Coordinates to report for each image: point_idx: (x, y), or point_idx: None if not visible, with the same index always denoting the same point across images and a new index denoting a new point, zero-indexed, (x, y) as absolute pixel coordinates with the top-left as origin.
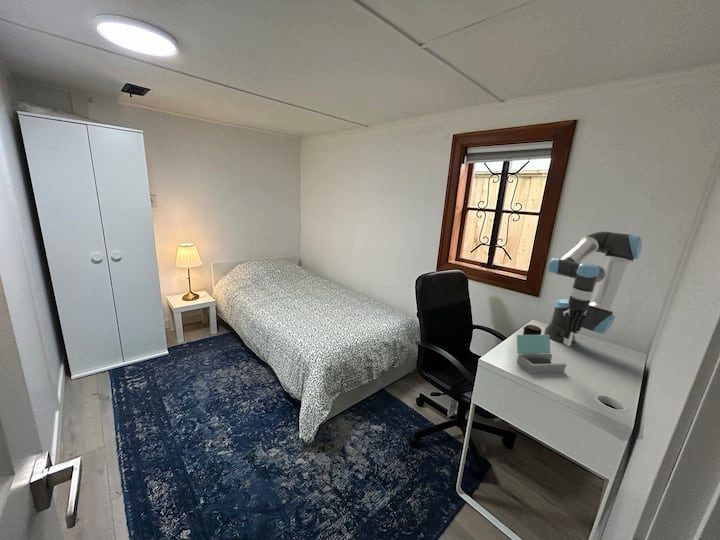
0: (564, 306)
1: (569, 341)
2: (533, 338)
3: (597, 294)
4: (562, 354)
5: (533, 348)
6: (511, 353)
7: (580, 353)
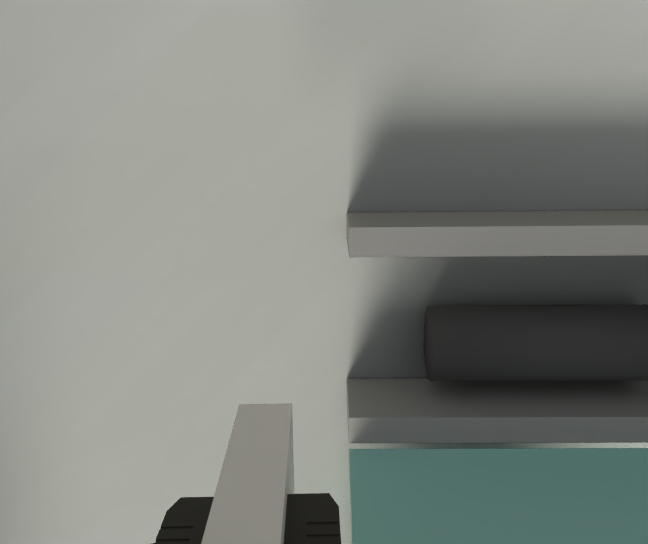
0: None
1: (276, 441)
2: None
3: None
4: (85, 500)
5: (591, 498)
6: None
7: None
